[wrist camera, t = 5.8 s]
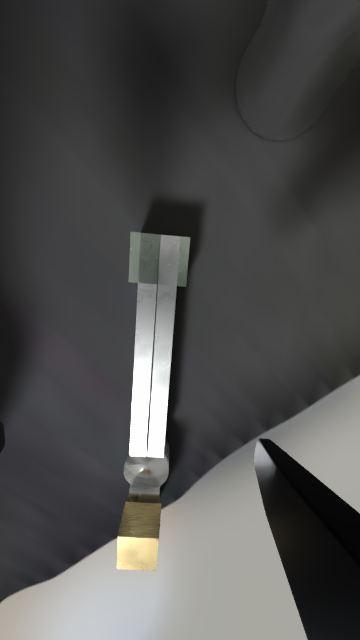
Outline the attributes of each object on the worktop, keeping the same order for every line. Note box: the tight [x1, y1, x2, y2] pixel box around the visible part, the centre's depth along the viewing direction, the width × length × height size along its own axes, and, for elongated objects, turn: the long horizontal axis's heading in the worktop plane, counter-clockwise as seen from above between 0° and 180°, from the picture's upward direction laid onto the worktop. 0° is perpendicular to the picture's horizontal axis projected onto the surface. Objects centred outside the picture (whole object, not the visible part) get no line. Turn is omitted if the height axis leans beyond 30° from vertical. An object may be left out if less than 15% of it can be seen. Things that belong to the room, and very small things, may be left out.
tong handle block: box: [124, 438, 170, 504], centre depth 20 cm, size 7×4×3 cm, turn 175°
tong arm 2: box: [148, 235, 190, 458], centre depth 17 cm, size 16×2×3 cm, turn 175°
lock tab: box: [117, 502, 161, 571], centre depth 17 cm, size 3×3×2 cm
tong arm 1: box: [129, 232, 161, 457], centre depth 17 cm, size 16×2×3 cm, turn 175°
